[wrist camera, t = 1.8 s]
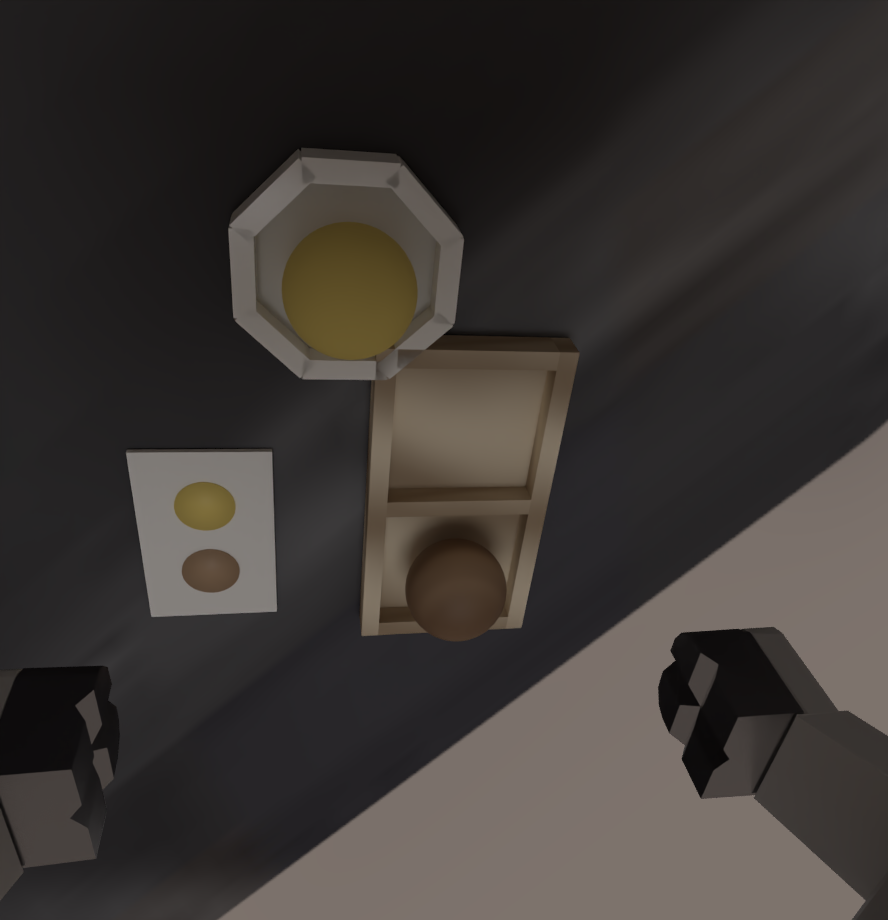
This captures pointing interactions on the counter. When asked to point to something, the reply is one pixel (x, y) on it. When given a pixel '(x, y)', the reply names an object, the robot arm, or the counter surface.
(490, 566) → the walnut ball
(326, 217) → the white bowl
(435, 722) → the counter surface
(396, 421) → the twin rack
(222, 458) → the card
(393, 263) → the mustard ball
